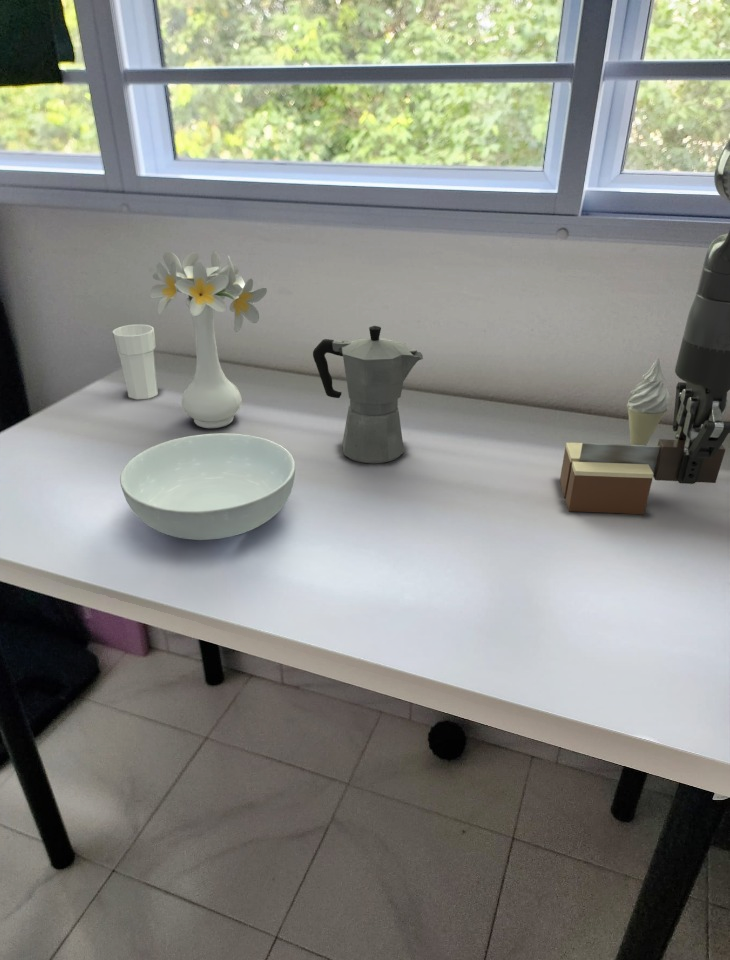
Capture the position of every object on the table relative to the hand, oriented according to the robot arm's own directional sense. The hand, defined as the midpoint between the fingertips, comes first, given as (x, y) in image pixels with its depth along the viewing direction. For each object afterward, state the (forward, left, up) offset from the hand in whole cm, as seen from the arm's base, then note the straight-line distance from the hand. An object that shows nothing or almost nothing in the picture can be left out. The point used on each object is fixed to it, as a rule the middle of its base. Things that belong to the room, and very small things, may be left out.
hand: (682, 476), depth 91 cm
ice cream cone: (+3, -12, -4) cm, 13 cm away
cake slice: (+9, +2, -4) cm, 10 cm away
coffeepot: (+40, -12, -4) cm, 42 cm away
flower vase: (+64, -20, -4) cm, 67 cm away
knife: (+4, 0, 0) cm, 5 cm away
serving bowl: (+57, +9, -4) cm, 58 cm away
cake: (+9, -3, -4) cm, 10 cm away
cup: (+80, -30, -4) cm, 85 cm away
